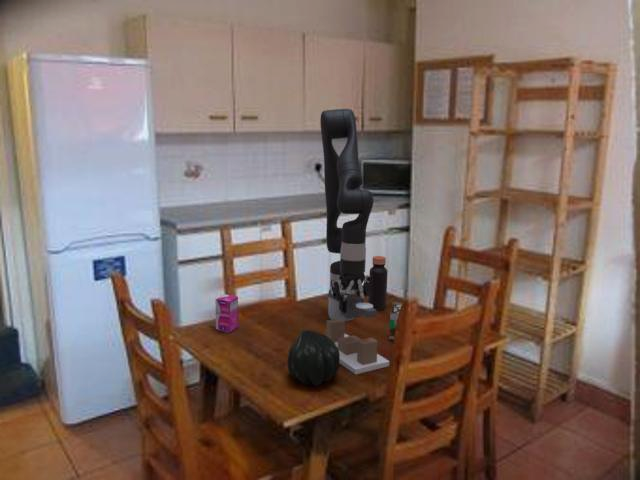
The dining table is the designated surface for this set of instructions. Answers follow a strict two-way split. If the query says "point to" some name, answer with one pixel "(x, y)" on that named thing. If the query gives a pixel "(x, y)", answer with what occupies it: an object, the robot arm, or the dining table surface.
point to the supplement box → (226, 313)
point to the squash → (313, 358)
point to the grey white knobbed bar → (356, 307)
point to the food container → (394, 319)
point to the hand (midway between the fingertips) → (350, 310)
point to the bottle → (378, 283)
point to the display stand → (355, 349)
